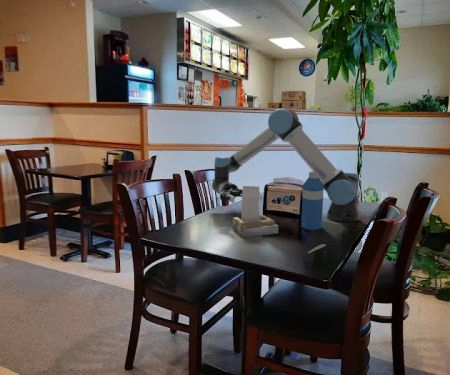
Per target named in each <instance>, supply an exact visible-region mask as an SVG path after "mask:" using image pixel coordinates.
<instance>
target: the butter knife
mask: <svg viewBox="0 0 450 375" xmlns="http://www.w3.org/2000/svg"><path fill="white" fill-rule="evenodd" d="M326 246H327V245H326V244H325V243H321V244H319V245H317V246H315V247H313V248H312V249H311V250H309V251H307V253H308V254H310V253H313V252H314V251H316V250H317V251H318V250H320V249H322V248H324V247H326Z"/></svg>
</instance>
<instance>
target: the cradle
mask: <svg viewBox="0 0 450 375" xmlns="http://www.w3.org/2000/svg"><path fill="white" fill-rule="evenodd" d="M271 224H276V223H275V220H274V219H272V218H271V217H269V216H266V215H265V214H259V215H258V221H249V222H244V221H243V220H241V218H239V217H238V216H236V217H232V229H233V230H234V231H236V232H237V233H239V234H240V235H242V227H250V226H260V225H271Z"/></svg>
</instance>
